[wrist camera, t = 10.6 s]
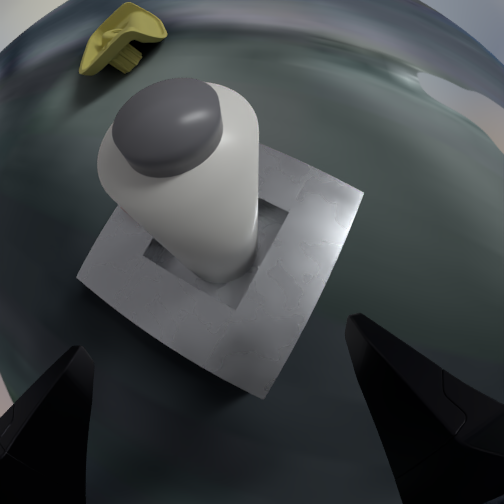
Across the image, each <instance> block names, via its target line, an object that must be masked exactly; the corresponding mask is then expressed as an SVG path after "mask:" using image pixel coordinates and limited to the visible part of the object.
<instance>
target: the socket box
mask: <svg viewBox="0 0 504 504" xmlns="http://www.w3.org/2000/svg"><path fill="white" fill-rule="evenodd" d="M363 194H364V193H363V192H361V191H359V190H358V189H356V188H354V187H352V186H350V185H348V184H346V183H344V182H342V181H340V180H339V179H337V178H335V177H333V176H331V175H329V174H327V173H325V172H323V171H320V170H318V169H316V168H314V167H312V166H310V165H308V164H306V163H304V162H301V161H299V160H297V159H295V158H293V157H290V156H288V155H286V154H284V153H281V152H279V151H277V150H274V149H272V148H270V147H267V146H265V145H262V144H260V143H259V161H258V237H257V254H256V257H255V260H254V262H253V264H252V266H251V267H250V269H249V270H248V271H247V272H246V273H245V274H244V275H242V276H241V277H239V278H238V279H236V280H234V281H231V282H227V283H211V282H208V281H205V280H203V279H201V278H199V277H198V276H196V275H195V274H194V273H193V272H192V271H191V270H189V269H188V268H187V267H186V266H185V265H184V264H183V263H181V262H180V261H179V260H178V259H177V258H176V257H175V256H173V255H172V254H171V253H170V252H169V251H168V250H167V249H166V248H165V247H163V246H162V245H161V244H160V243H159V242H158V241H157V240H156V239H155V238H153V237H152V236H151V235H150V234H149V233H148V232H147V231H146V230H145V229H144V228H143V227H142V226H140V225H139V224H138V223H137V222H136V221H135V220H134V219H133V218H132V217H131V216H130V215H129V214H128V213H127V212H126V211H125V210H124V209H122V208H121V207H120V206H119V205H118V206H117V207H116V209H115V210H114V212H113V214H112V215H111V217H110V218H109V220H108V222H107V223H106V225H105V226H104V228H103V230H102V231H101V233H100V235H99V236H98V238H97V240H96V242H95V243H94V245H93V247H92V249H91V250H90V252H89V254H88V256H87V258H86V259H85V261H84V263H83V265H82V267H81V269H80V271H79V273H78V275H77V277H76V278H78V279H79V280H80V281H81V282H82V283H83V284H85V285H86V286H87V287H88V288H89V289H91V290H92V291H93V292H94V293H95V294H97V295H98V296H99V297H100V298H102V299H103V300H104V301H105V302H107V303H108V304H109V305H110V306H112V307H113V308H114V309H116V310H117V311H118V312H120V313H121V314H122V315H124V316H125V317H126V318H128V319H129V320H130V321H132V322H133V323H134V324H136V325H137V326H139V327H140V328H141V329H143V330H144V331H146V332H147V333H149V334H150V335H152V336H153V337H154V338H156V339H157V340H159V341H160V342H162V343H163V344H165V345H167V346H168V347H170V348H171V349H173V350H174V351H176V352H178V353H179V354H181V355H182V356H184V357H186V358H187V359H189V360H190V361H192V362H194V363H196V364H197V365H199V366H201V367H202V368H204V369H206V370H208V371H209V372H211V373H213V374H215V375H216V376H218V377H220V378H222V379H224V380H226V381H227V382H229V383H231V384H233V385H235V386H237V387H239V388H241V389H243V390H245V391H247V392H249V393H251V394H253V395H255V396H257V397H259V398H261V399H263V400H264V398H265V396H266V395H267V393H268V391H269V390H270V388H271V386H272V385H273V383H274V381H275V379H276V378H277V376H278V374H279V373H280V371H281V369H282V367H283V365H284V364H285V362H286V360H287V358H288V357H289V355H290V353H291V351H292V349H293V347H294V346H295V344H296V342H297V340H298V338H299V336H300V334H301V332H302V330H303V329H304V327H305V325H306V323H307V321H308V319H309V317H310V315H311V313H312V311H313V309H314V307H315V305H316V303H317V301H318V299H319V297H320V294H321V292H322V290H323V288H324V286H325V284H326V282H327V280H328V278H329V275H330V273H331V271H332V269H333V267H334V264H335V262H336V260H337V258H338V255H339V253H340V251H341V249H342V246H343V244H344V242H345V239H346V237H347V234H348V232H349V230H350V227H351V225H352V222H353V220H354V217H355V215H356V212H357V210H358V207H359V205H360V202H361V199H362V197H363Z"/></svg>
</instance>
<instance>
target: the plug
mask: <svg viewBox="0 0 504 504" xmlns="http://www.w3.org/2000/svg"><path fill="white" fill-rule="evenodd" d="M258 161H259V127H258V120H257V117H256V114H255V112H254V110H253V108H252V107H251V105H250V104H249V103H248V102H247V100H246V99H244V98H243V97H242V96H241V95H240V94H238V93H237V92H235V91H233V90H231V89H229V88H227V87H224V86H221V85H218V84H214V83H207V82H203V81H200V80H197V79H192V78H174V79H168V80H164V81H160V82H157V83H155V84H152V85H150V86H148V87H146V88H144V89H142V90H141V91H139V92H138V93H136V94H135V95H134V96H132V97H131V98H130V99H129V100H128V101H127V102H126V103H125V104H124V105H123V106H122V108H121V109H120V110H119V112H118V114H117V115H116V118H115V120H114V122H113V123H112V125H111V126H110V127H109V129H108V130H107V132H106V134H105V136H104V138H103V140H102V143H101V145H100V149H99V153H98V160H97V170H98V175H99V179H100V182H101V184H102V186H103V188H104V189H105V191H106V192H107V194H108V195H109V196H110V197H111V198H112V199H113V200H114V201H115V202H116V203H117V204H118V205H119V206H120V207H121V208H122V209H124V210H125V211H126V212H127V213H128V214H129V215H130V216H131V217H132V218H133V219H134V220H135V221H136V222H137V223H138V224H139V225H140V226H142V227H143V228H144V229H145V230H146V231H147V232H148V233H149V234H150V235H151V236H152V237H153V238H155V239H156V240H157V241H158V242H159V243H160V244H161V245H162V246H163V247H165V248H166V249H167V250H168V251H169V252H170V253H171V254H172V255H173V256H175V257H176V258H177V259H178V260H179V261H180V262H181V263H183V264H184V265H185V266H186V267H187V268H188V269H189V270H191V271H192V272H193V273H194V274H195V275H196V276H198V277H199V278H201V279H203V280H205V281H208V282H211V283H227V282H231V281H234V280H236V279H238V278H239V277H241V276H242V275H244V274H245V273H246V272H247V271H248V270H249V269H250V267H251V266H252V264H253V262H254V260H255V257H256V254H257V237H258Z"/></svg>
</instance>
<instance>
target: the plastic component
mask: <svg viewBox="0 0 504 504" xmlns="http://www.w3.org/2000/svg"><path fill="white" fill-rule="evenodd" d="M166 37H167V32H166V30H165V28H164V26H163V23H162V21H161V20H160V19H158V18H157V17H156V16H154V15H153V14H151V13H150V12H148V11H146V10H144V9H143V8H141V7H139V6H137V5H135V4H133V3H131V2H127V3H124V4H123V5H122V6H121V7H119V8H118V9H117V10H116V11H115V12H114V13H113V14H112V15H111V16H110V17H109V18H108V19H107V20H106V21H105V22H104V23H103V24H102V25H101V26H100V27H99V28H98V29H97V30H96V31H95V32H94V33H93V35H92V36H91V37H90V39H89V40H88V43H87V46H86V49H85V52H84V55H83V58H82V61H81V64H80V68H79V73H80V74H82V75H88V76H92V75H95V74H97V73H98V72H99V71H101V70H102V69H103V68H104V67H105V66H106V65H107V64H108V63H109V64H110V65H112V66H113V67H115V68H116V69H118V70H120V71H121V72H123V73H124V74H126V73H127V72H130V71H131V70H132V69H133V68H134V67H135V66H137V65H138V62H139V61H140V59H141V58H142V56H141V55H142V53H140V52H139V51H138V50H136V49H135V48H134V47H133V46H131V45H130V44H129V42H130V41H132V40H137V41H139V42H142V43H148V42H151V43H155V42H160V41H162V40H163V39H164V38H166Z"/></svg>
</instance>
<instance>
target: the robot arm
mask: <svg viewBox="0 0 504 504" xmlns="http://www.w3.org/2000/svg"><path fill="white" fill-rule="evenodd" d="M345 339H346V342H347V346H348V349H349V353H350V356H351V360H352V363H353V367H354V370H355V374H356V377H357V380H358V383H359V385H360V388H361V390H362V393H363V395H364V398H365V400H366V403H367V405H368V408H369V410H370V413H371V415H372V418H373V420H374V423H375V426H376V428H377V431H378V433H379V436H380V439H381V441H382V444H383V447H384V450H385V452H386V455H387V458H388V461H389V464H390V466H391V469H392V472H393V475H394V478H395V481H396V484H397V487H398V491H399V494H400V497H401V500H402V503H403V504H504V404H502V403H500V402H498V401H496V400H494V399H492V398H491V397H489V396H487V395H485V394H483V393H481V392H479V391H478V390H476V389H474V388H472V387H470V386H469V385H467V384H465V383H464V382H462V381H460V380H459V379H457V378H456V377H454V376H453V375H451V374H450V373H448V372H447V371H446V370H444V369H443V370H442V368H441V367H440V366H438V365H437V364H435V363H434V362H432V361H431V360H429V359H428V358H427V357H425V356H424V355H422V354H421V353H419V352H418V351H416V350H415V349H413V348H412V347H411V346H409V345H408V344H406V343H405V342H403V341H402V340H400V339H399V338H397V337H396V336H394V335H393V334H391V333H390V332H389V331H387V330H386V329H384V328H383V327H381V326H380V325H378V324H377V323H375V322H374V321H372V320H371V319H369V318H368V317H366V316H365V315H363V314H362V313H356V314H352V315H349V316H348V318H347V324H346V330H345ZM93 377H94V362H93V360H92V358H91V357H90V356H89V354H88V353H87V351H86V350H85V348H84V347H82V346H72V347H71V348H70V349H69V350H68V351H67V352H65V353H64V354H63V355H62V356H61V357H60V358H59V359H58V360H57V361H56V362H55V363H54V364H53V365H52V366H51V367H50V368H49V369H48V370H47V371H46V372H45V373H44V374H43V375H42V376H41V377H40V378H39V379H38V380H37V381H36V382H35V383H34V384H33V385H32V386H31V387H30V388H29V389H28V390H27V391H26V392H25V393H24V394H23V395H22V396H21V397H20V398H19V399H18V400H17V401H16V402H15V404H13V405H12V406H11V407H10V408H9V409H8V410H7V412H5V413H4V415H3V416H2V417H0V504H86V496H85V495H86V455H87V441H88V431H89V421H90V413H91V405H92V392H93Z"/></svg>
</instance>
